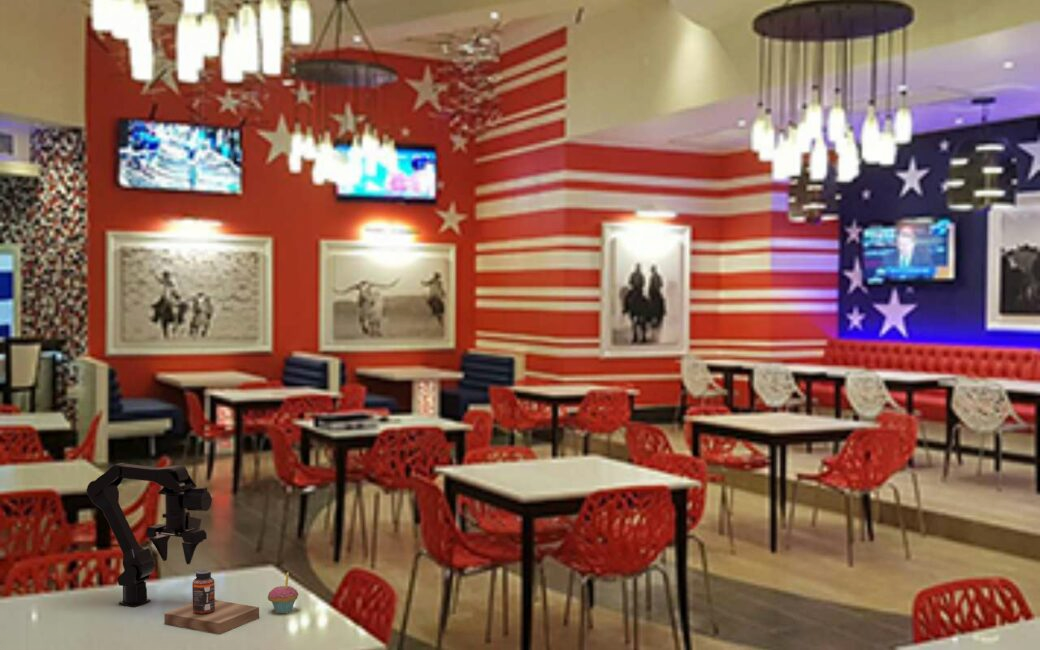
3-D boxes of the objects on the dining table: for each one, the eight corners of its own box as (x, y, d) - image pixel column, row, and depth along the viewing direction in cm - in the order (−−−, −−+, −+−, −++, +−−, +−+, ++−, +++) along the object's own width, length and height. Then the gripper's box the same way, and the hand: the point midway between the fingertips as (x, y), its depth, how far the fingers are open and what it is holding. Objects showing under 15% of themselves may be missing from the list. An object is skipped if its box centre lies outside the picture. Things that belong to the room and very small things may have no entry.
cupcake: (304, 608, 311) (303, 567, 311) (286, 617, 304) (285, 575, 303) (280, 605, 315) (279, 564, 315) (261, 613, 307) (261, 571, 307)
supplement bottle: (214, 614, 297) (213, 573, 297) (191, 615, 296) (191, 574, 295) (215, 607, 303) (215, 568, 302) (193, 609, 302) (193, 569, 301)
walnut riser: (164, 624, 298) (164, 613, 298) (205, 608, 312) (205, 598, 312) (219, 634, 289) (219, 623, 289) (259, 617, 303) (259, 607, 303)
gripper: (219, 507, 316) (220, 559, 317) (172, 501, 325) (173, 552, 325) (192, 514, 306) (193, 568, 307) (144, 508, 315) (145, 561, 315)
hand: (176, 562), depth 314 cm, fingers open, 9 cm apart
